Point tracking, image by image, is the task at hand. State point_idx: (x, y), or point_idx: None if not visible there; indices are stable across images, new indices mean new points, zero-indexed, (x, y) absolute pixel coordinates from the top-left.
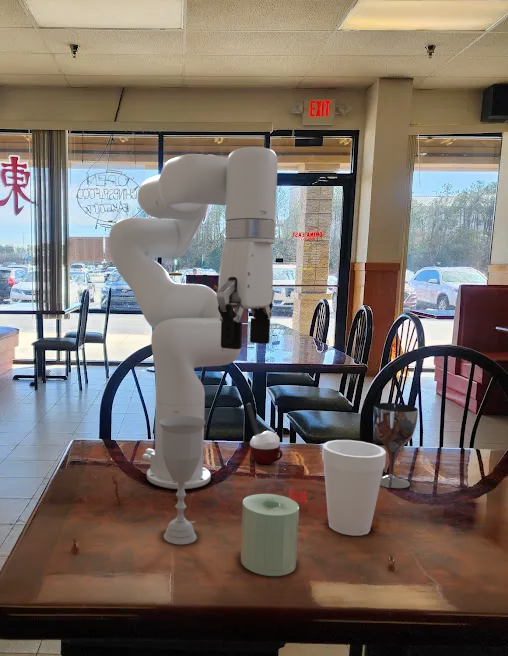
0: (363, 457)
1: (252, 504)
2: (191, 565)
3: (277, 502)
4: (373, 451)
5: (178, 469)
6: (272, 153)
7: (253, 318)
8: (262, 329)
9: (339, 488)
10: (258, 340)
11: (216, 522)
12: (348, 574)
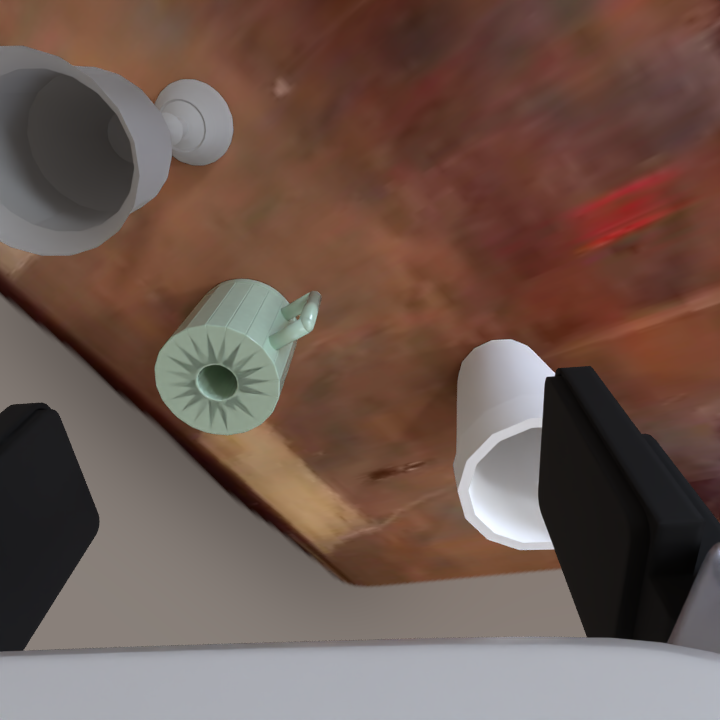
0: (474, 526)
1: (181, 357)
2: (123, 226)
3: (236, 389)
4: None
5: (73, 167)
6: None
7: (654, 554)
8: (574, 557)
9: (458, 426)
10: (546, 452)
11: (322, 141)
12: (312, 436)
